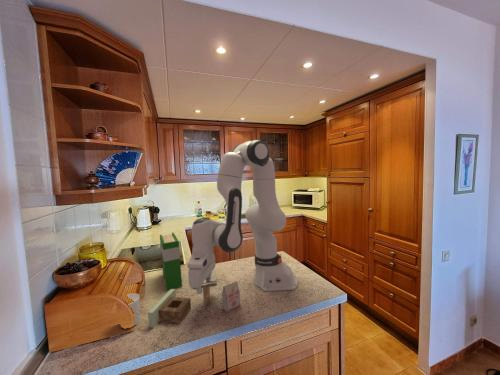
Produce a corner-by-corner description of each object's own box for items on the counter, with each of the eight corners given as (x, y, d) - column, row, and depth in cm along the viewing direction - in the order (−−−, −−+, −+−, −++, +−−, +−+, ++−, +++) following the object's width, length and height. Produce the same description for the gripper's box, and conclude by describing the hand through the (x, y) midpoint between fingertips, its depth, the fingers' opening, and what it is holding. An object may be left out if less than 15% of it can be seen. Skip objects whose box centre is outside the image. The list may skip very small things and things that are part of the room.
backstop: (176, 301, 98) (175, 289, 97) (153, 327, 82) (152, 312, 81) (172, 301, 98) (170, 288, 97) (149, 327, 82) (147, 312, 82)
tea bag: (222, 307, 92) (221, 285, 91) (235, 301, 96) (234, 279, 95) (226, 311, 89) (225, 288, 88) (240, 305, 93) (239, 283, 92)
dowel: (211, 302, 96) (210, 285, 95) (209, 306, 93) (207, 288, 92) (205, 302, 96) (204, 285, 96) (203, 306, 94) (201, 288, 93)
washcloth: (194, 291, 107) (193, 285, 106) (192, 274, 124) (191, 269, 124) (218, 285, 110) (217, 280, 110) (213, 270, 127) (212, 265, 127)
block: (191, 308, 92) (190, 298, 92) (180, 323, 84) (179, 312, 83) (171, 306, 94) (171, 296, 94) (159, 321, 85) (158, 310, 85)
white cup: (127, 316, 89) (125, 293, 88) (145, 316, 89) (143, 293, 88) (113, 330, 82) (111, 305, 81) (133, 331, 81) (131, 305, 80)
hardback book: (163, 276, 123) (159, 234, 121) (176, 272, 126) (173, 232, 124) (166, 291, 107) (162, 243, 105) (182, 286, 110) (178, 240, 108)
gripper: (205, 247, 103) (206, 275, 104) (185, 265, 83) (186, 300, 84) (218, 247, 102) (219, 276, 103) (200, 266, 82) (201, 301, 83)
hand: (204, 287), depth 94 cm, fingers open, 8 cm apart
